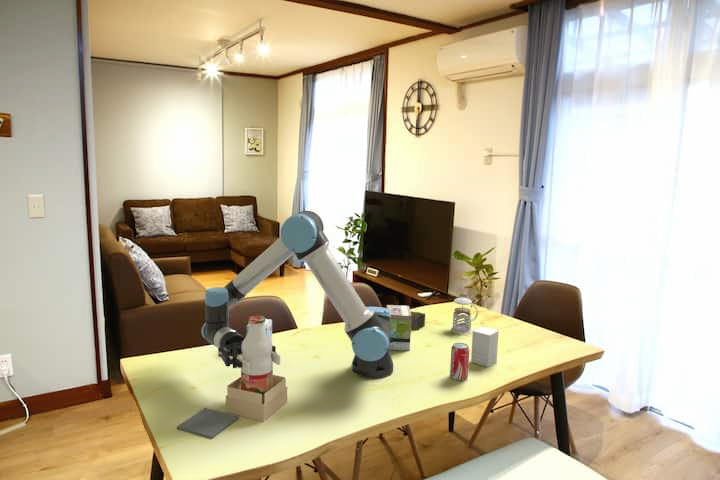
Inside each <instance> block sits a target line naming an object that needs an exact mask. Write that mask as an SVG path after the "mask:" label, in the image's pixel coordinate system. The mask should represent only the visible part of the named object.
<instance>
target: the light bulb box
mask: <svg viewBox="0 0 720 480" xmlns="http://www.w3.org/2000/svg"><path fill="white" fill-rule="evenodd" d="M264 327H265V331H266V333H267V336H268V337H269V338H270V340H271V341H272V342H273V320H272V319H268V318H265V324H264ZM248 329H249V323H248V324H247V325H246V334H247V333H248Z"/></svg>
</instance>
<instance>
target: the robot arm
mask: <svg viewBox="0 0 720 480" xmlns="http://www.w3.org/2000/svg"><path fill="white" fill-rule="evenodd" d="M329 246H330V241H329V239H328V238H327V236H326V234H325V232H324V222H323V219H322V217H320V215H318V213H316V212H315V211H311V210H302V211H298V212H297V213H294V214H292V215H290V216H289V217H288V218H286V220H285V221H284V222H283V223H282V226H281V229H280V237H278V239H277V240H275V241H274V242H273V243H272V244H271V245H270V246H269V247H268V248H267V249H265V250H264V251H263V252H262V253H260V254H259V255H258V256H257V257H256V258H255V259H254V260H253V261H252V262H251V263H249V264H248V265H247V266H246V267H245V268H244V269H242V270H241V271H240V273H239V274H237V275H236V276H235V277H234V278H233V279H232V280H230V281H229V282H228V283H227V284H226V285H225V286H223V287H222V286H221V287H220V286H216V287H215V286H214V287H209V288H207V289H206V290H205V294H204V295H205V296H204V304H205V305H204V307H205V308H204V309H205V310H204V311H205V322H204V323H203V325H202V327H201V329H200V330H201V336H202V337H203V339H205V341H206V342H208V343H209V344H210V345H213V346H215V347H216V348H217V350H218V351H217V352H218V353H217V355H218V357H219V358H221V360H222V361H223V363H224V365H225V367H230V366H231V365H232V369H240V370H241V369H243V370H244V371H245V372H247V373H250V363H248V362H247V361H246V360H244V359H243V357H241V355H243V354H242V350H241V345H242V342H243V340H244V339H245V337H244V335H242V334H240V333H239V332H238V331H236V330H234V329H232V328H231V327H229V325H230V324H229V321H230V320H229V317H230V316H229V315H230V314H229V313H230V312H229V310H231V309H232V308H234V306H236V305H237V304H238V303H239V302H241V301H242V300H243V299H244V298H245V297H246V296H247V295H248V294H249V293H251V291H253V290H254V289H255V288H256V287H258V285H260V284H261V283H262V282H263V281H265V279H266V278H268V276H270V275H271V274H272V273H274V272H275V271H276V270H277V269H278V268H279V267H280V266H282V264H284V263H285V262H286V261H287V260H288V259H289V258H291V257H292V256H293V255H295V257H296V258H297V260H298V261H299V262H303V263H306V265H307V266H308V268H309V269H310V271H311V272H312V274H313V275H314V277H315V279H316V281H317V282H318V284H319V285H320V286H321V288H322V290H323V291H324V293H325V294H326V296H327V298H328V299H329V300H330V302H331V304H332V305H333V307H334V308H335V310H336V311H337V313H338V314H339V316H340V318H341V319H342V321H343V322H344V323H345V324H344V329H343V330H344V332H345V334H346V336H348V338H349V340H350V341H351V348H352V351H353V353H354V356H353V359H352V361H351V371H352V372H353V373H354V374H355V375H357V376H360V377H363V378H368V379H370V378H371V379H379V378H385V377H389V376H390V375H392V373H394V366H395V365H394V361H393V358H392V355H391V352H390V351H391V350H389V344H390V318H391V314H390V310H389V309H386V307H381V306H380V307H379V306H366V305H365V304H364V302H363V301H362V299H361V297H360V295H359V294H358V293H357V292H356V291H357V290H355V288H354V286H353V285H352V283H351V281H350V280H349V278H348V277H347V276H346V273H345V272H344V271H343V269H342V268H341V266H340V265H339V263H338V261H337V260H336V258H335V257H334V255H333V254H332V252H331V250H330V249H329ZM231 357H232V358H231ZM271 357H272V361H273V364H275V365H278V366H279V365H281V355H279V354H278V352H276V346H274V345H272V351H271Z"/></svg>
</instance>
